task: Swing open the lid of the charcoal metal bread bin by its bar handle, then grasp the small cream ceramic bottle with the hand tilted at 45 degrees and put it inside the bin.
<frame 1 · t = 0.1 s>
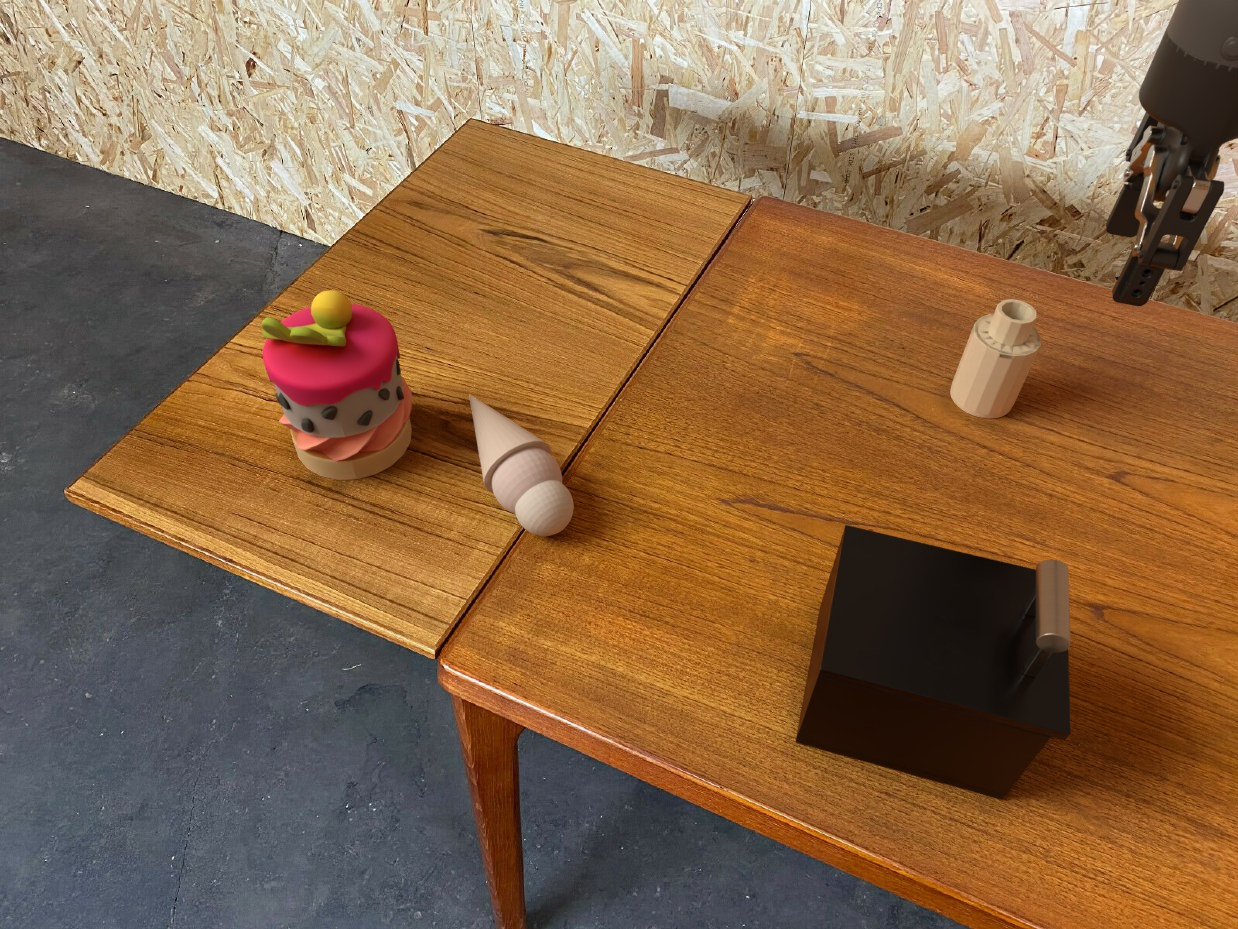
hand: (1123, 265, 68), 20 cm above the table, tool pointing down, fingers open, 8 cm apart
bread bin: (904, 695, 67), on the table
ice cream cone: (513, 487, 79), on the table
bottle: (981, 397, 88), on the table
cake: (355, 439, 83), on the table
bin lid: (957, 602, 58), point 12 cm above the table, hinge at 0.0°
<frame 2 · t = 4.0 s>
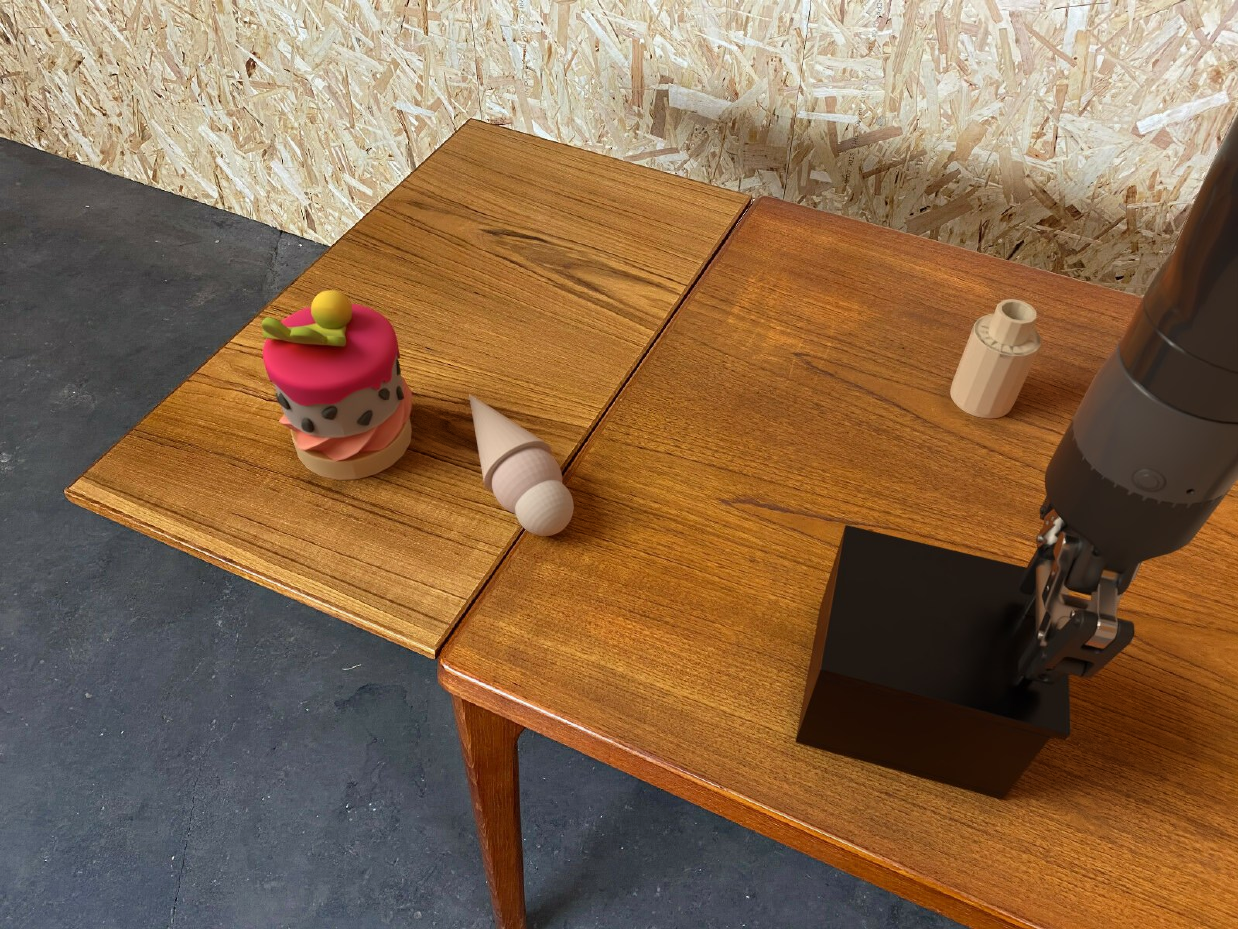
hand: (1035, 631, 58), 11 cm above the table, tool pointing down, fingers closed on bin lid, 5 cm apart
bin lid: (957, 602, 58), point 12 cm above the table, hinge at -0.1°, touching gripper
everything else where it was.
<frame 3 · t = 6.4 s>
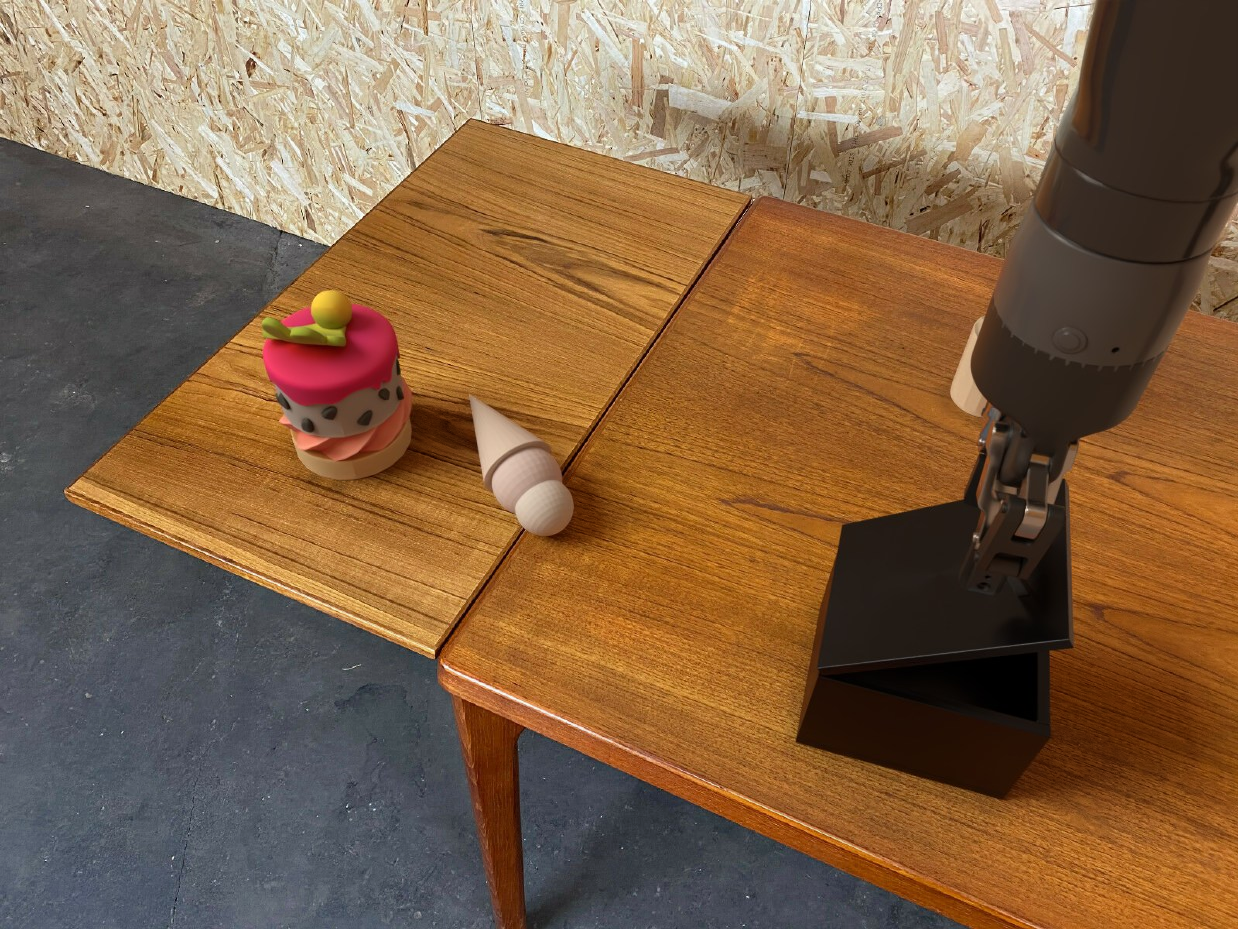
hand: (979, 542, 54), 17 cm above the table, tool pointing down, fingers closed on bin lid, 5 cm apart
bin lid: (925, 552, 56), point 16 cm above the table, hinge at 37.2°, touching gripper
everything else where it was.
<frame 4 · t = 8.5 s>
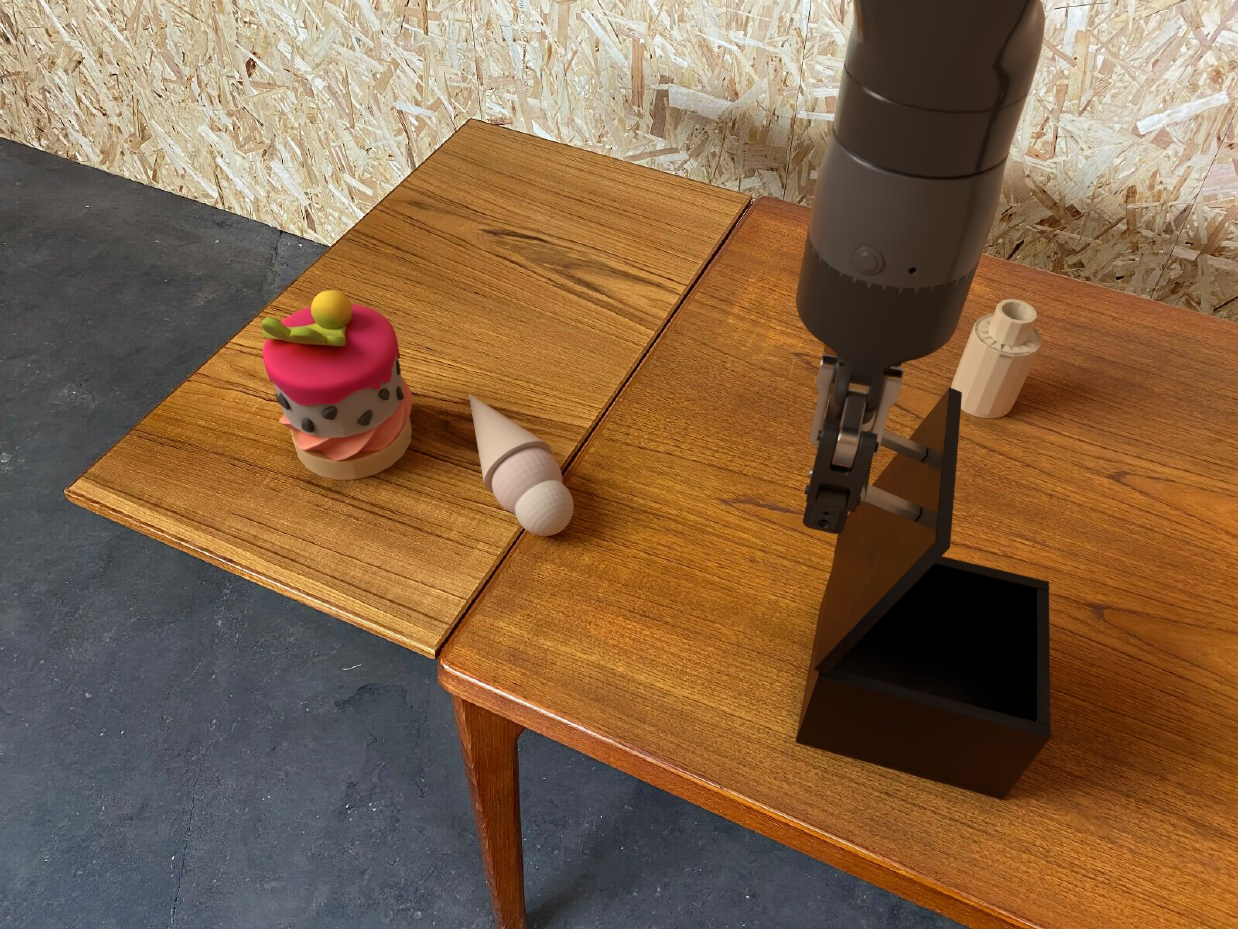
hand: (830, 484, 54), 19 cm above the table, tool pointing down, fingers closed on bin lid, 5 cm apart
bin lid: (847, 519, 56), point 17 cm above the table, hinge at 75.6°, touching gripper
everything else where it was.
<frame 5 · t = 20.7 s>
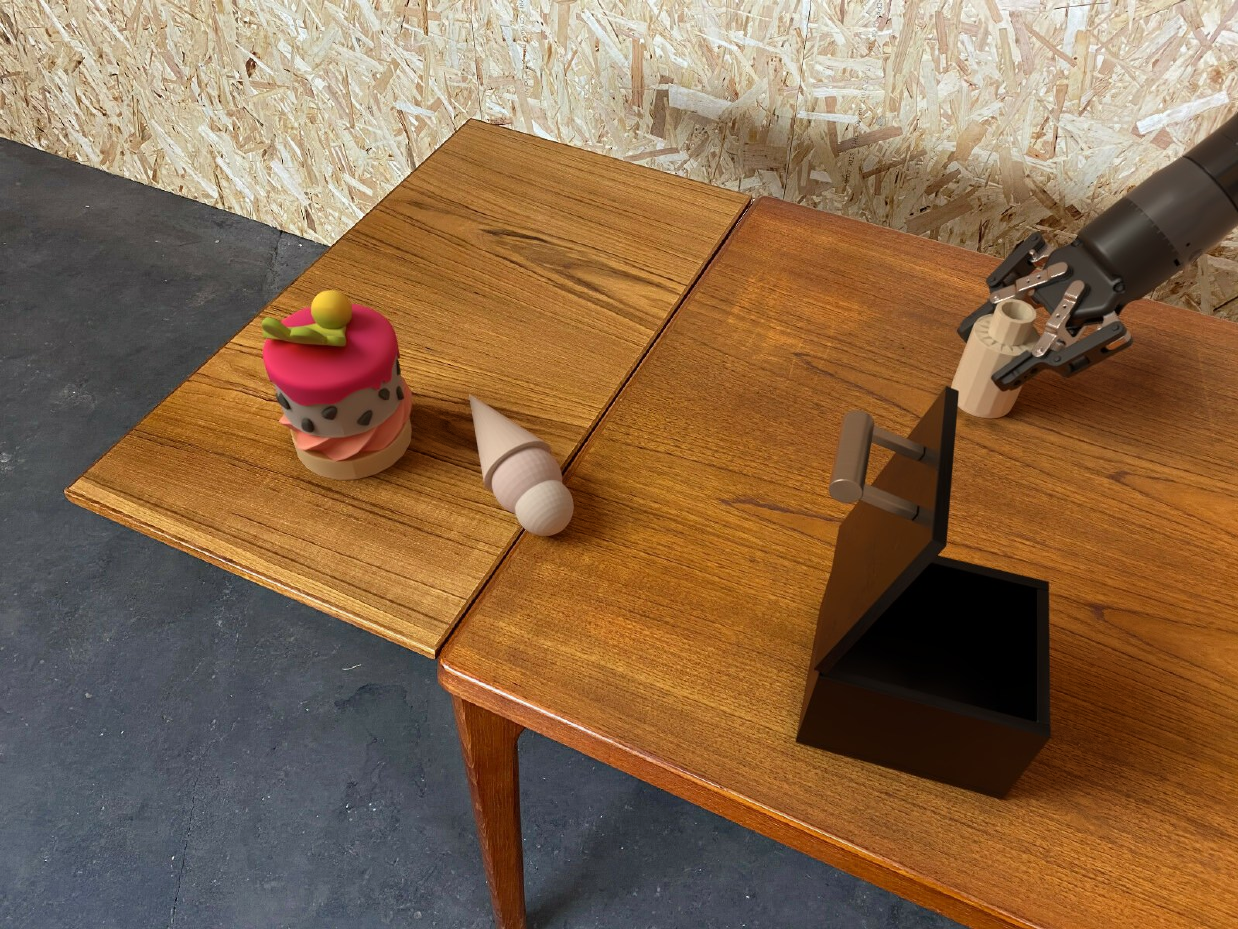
hand: (979, 360, 84), 5 cm above the table, tool tilted 45°, fingers closed on bottle, 5 cm apart
bottle: (981, 397, 88), on the table, touching gripper
bin lid: (845, 519, 56), point 17 cm above the table, hinge at 76.3°
everything else where it was.
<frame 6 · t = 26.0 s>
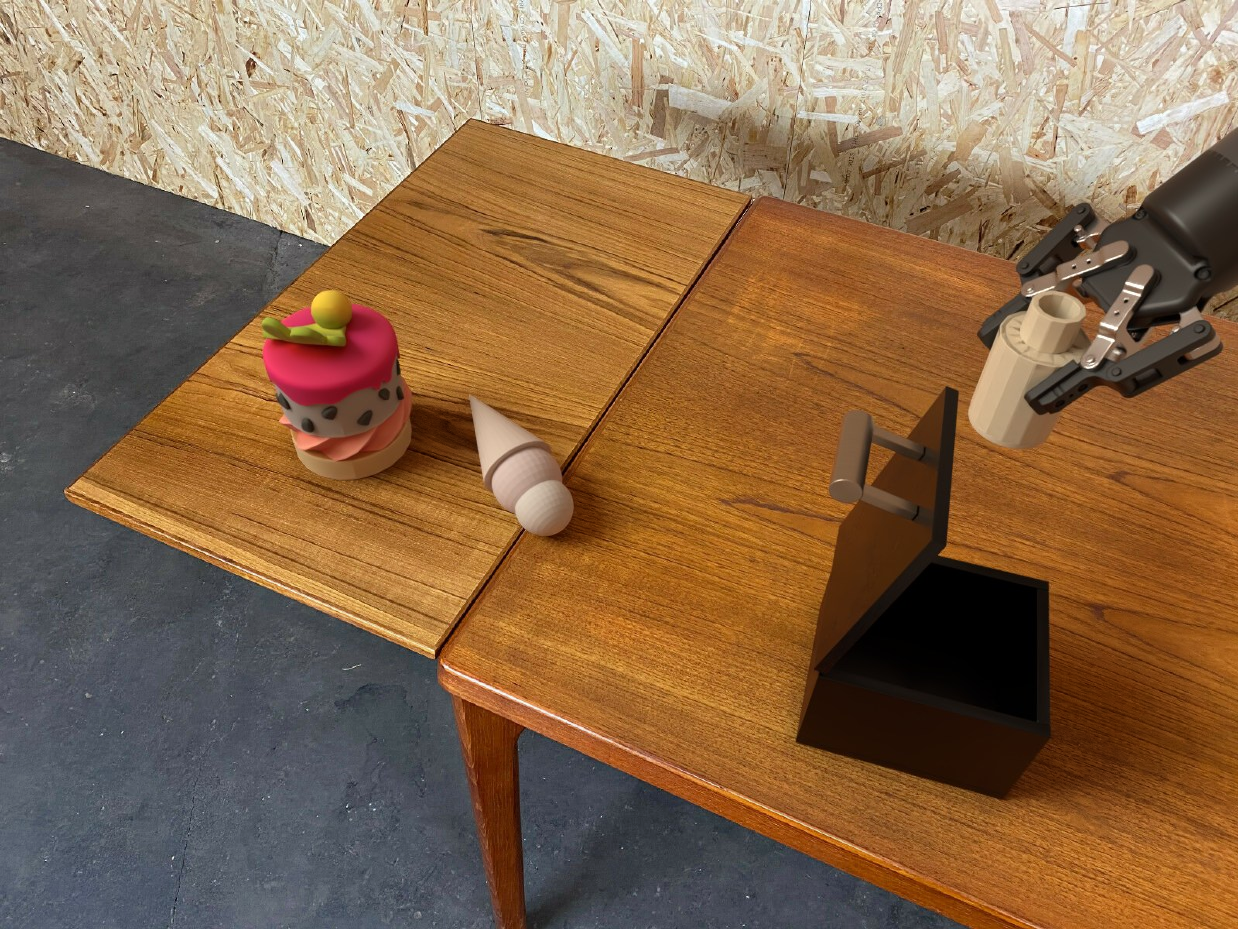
hand: (1007, 373, 63), 18 cm above the table, tool tilted 45°, fingers closed on bottle, 5 cm apart
bottle: (1009, 420, 67), point 13 cm above the table, touching gripper
everything else where it was.
when the fingers open (11 cm above the table, at t = 31.3 s): bottle drops 5 cm, resting on bread bin.
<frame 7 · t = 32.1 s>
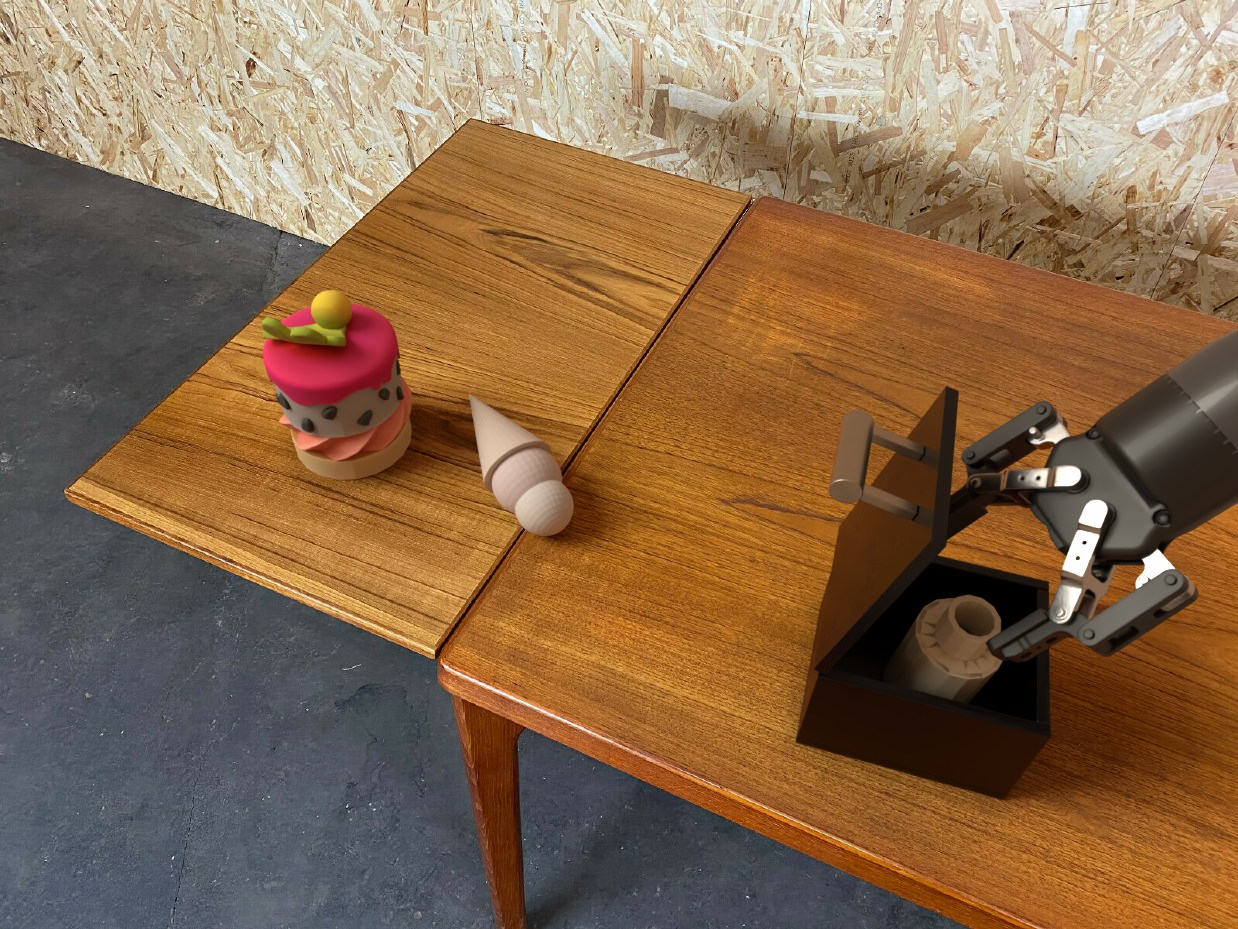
hand: (959, 592, 57), 13 cm above the table, tool tilted 45°, fingers open, 8 cm apart
bottle: (922, 688, 66), point 1 cm above the table, tilted 5°, touching bread bin
everything else where it was.
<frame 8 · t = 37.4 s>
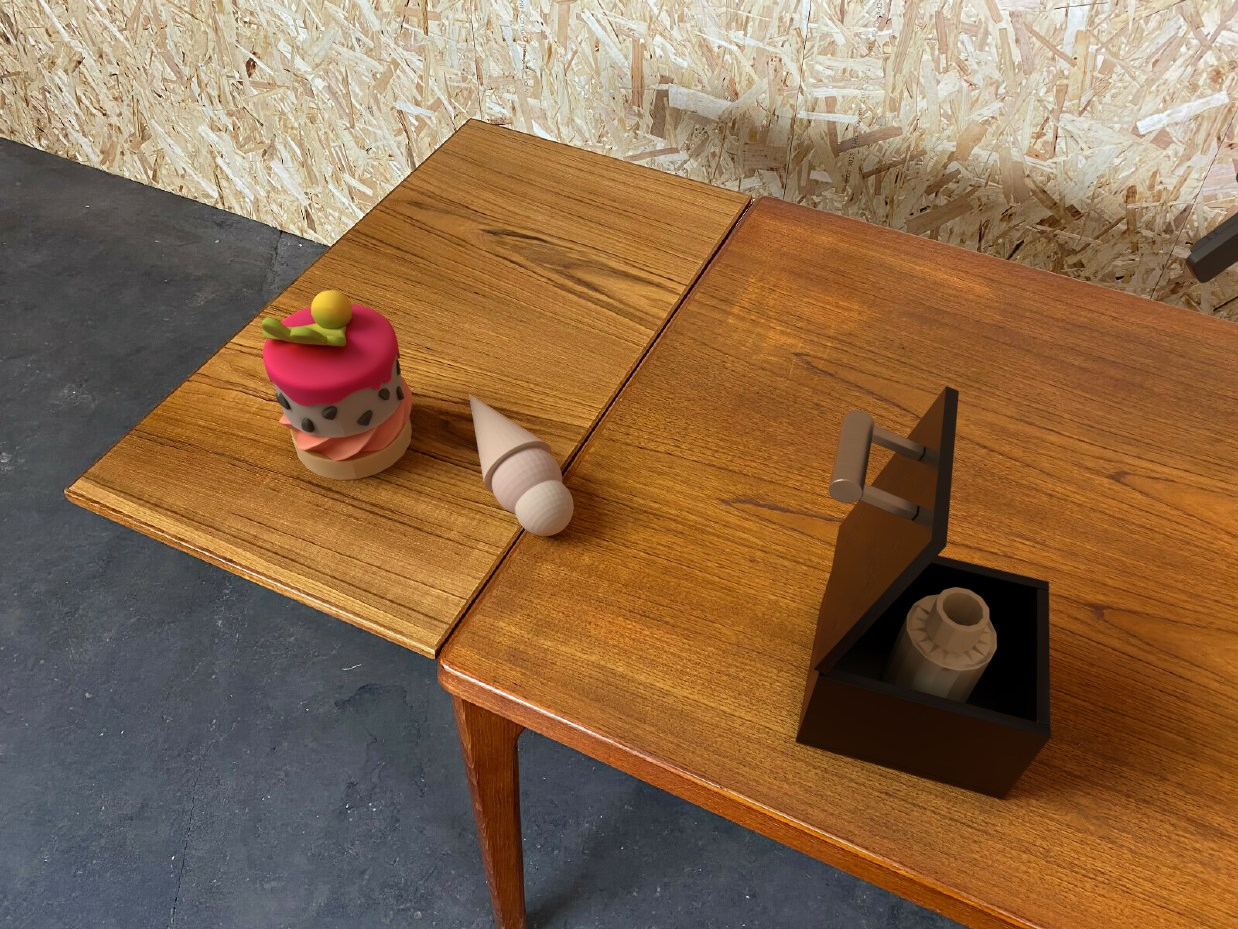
bottle: (921, 689, 66), point 1 cm above the table, touching bread bin
everything else where it was.
at the end: bin lid at +76° (first picture: +0°); bottle inside the target area in the bread bin (0.9 cm from its centre), point 0.8 cm above the bread bin's base; the gripper is holding nothing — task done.
